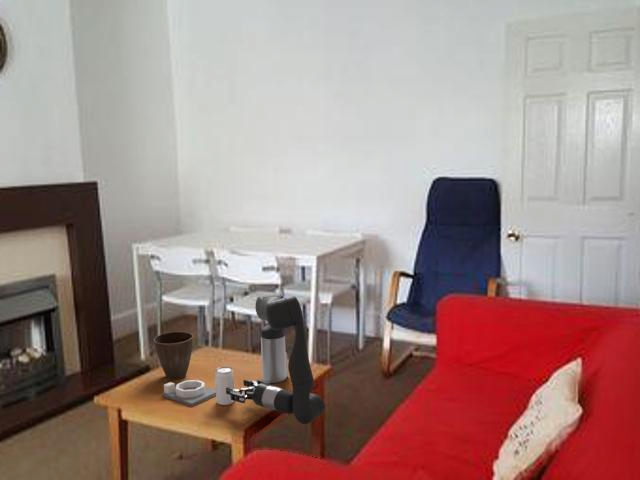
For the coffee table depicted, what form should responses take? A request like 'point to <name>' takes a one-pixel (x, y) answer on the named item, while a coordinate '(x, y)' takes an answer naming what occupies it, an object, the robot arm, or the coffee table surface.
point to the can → (224, 385)
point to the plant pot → (174, 353)
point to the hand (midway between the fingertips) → (235, 386)
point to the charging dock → (194, 399)
